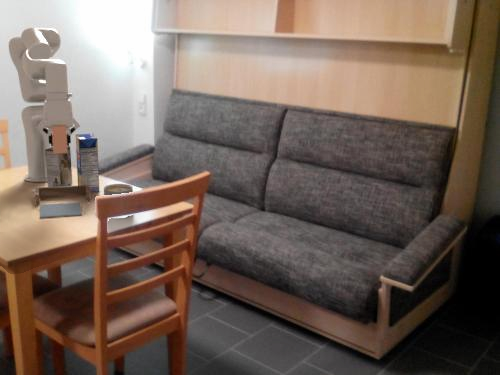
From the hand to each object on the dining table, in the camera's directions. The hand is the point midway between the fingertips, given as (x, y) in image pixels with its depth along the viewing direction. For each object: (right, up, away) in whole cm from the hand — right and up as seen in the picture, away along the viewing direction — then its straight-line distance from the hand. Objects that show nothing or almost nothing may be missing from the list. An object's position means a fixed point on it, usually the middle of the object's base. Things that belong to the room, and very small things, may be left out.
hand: (60, 145), depth 200 cm
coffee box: (-9, -15, +25) cm, 31 cm away
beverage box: (+4, -17, +22) cm, 28 cm away
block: (0, -2, +1) cm, 3 cm away
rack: (-1, -21, +6) cm, 22 cm away
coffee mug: (+24, -26, -8) cm, 37 cm away
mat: (+2, -24, -5) cm, 25 cm away
